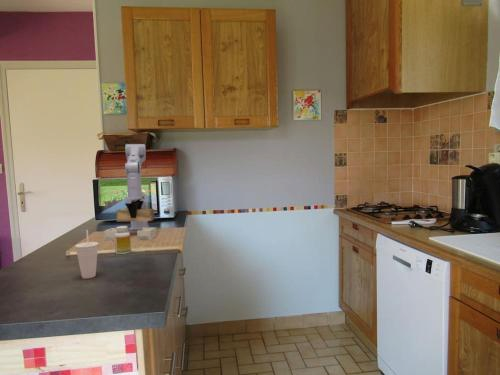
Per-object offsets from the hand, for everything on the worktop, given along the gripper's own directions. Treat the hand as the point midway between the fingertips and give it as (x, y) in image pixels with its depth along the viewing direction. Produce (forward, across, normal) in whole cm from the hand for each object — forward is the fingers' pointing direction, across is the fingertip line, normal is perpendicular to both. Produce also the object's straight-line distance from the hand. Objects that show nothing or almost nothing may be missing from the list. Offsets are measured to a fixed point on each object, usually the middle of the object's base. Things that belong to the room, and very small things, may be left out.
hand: (135, 217), depth 161 cm
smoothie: (+8, +58, +8) cm, 59 cm away
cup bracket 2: (+8, +7, +7) cm, 13 cm away
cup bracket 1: (+8, +7, -7) cm, 13 cm away
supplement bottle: (+9, +31, +7) cm, 33 cm away
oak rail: (+2, 0, 0) cm, 2 cm away
